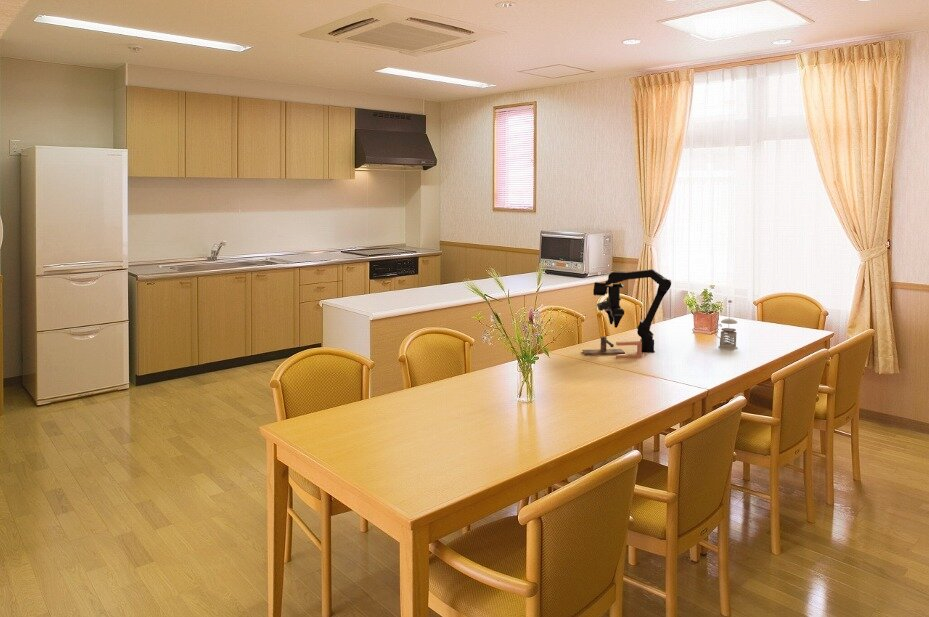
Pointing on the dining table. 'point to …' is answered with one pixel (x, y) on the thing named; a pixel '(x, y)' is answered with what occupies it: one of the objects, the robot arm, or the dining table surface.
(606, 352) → the stand
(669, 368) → the dining table surface
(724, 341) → the french press
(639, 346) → the c link
